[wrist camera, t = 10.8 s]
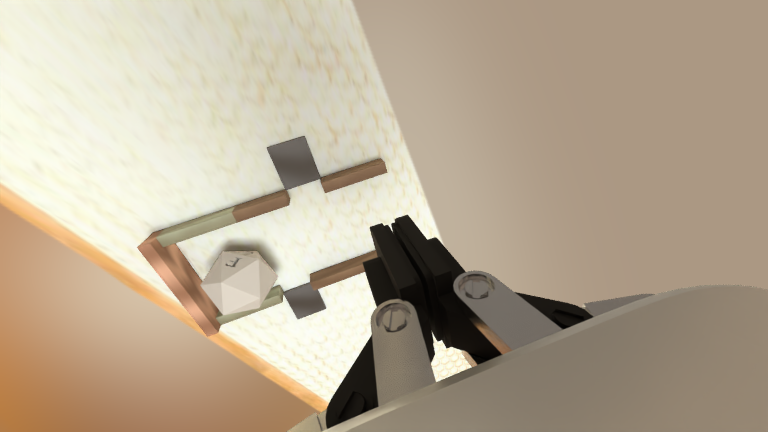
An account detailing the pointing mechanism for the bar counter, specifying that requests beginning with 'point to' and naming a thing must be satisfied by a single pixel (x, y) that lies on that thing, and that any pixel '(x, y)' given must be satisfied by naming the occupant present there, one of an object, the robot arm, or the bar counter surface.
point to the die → (239, 281)
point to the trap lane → (293, 172)
